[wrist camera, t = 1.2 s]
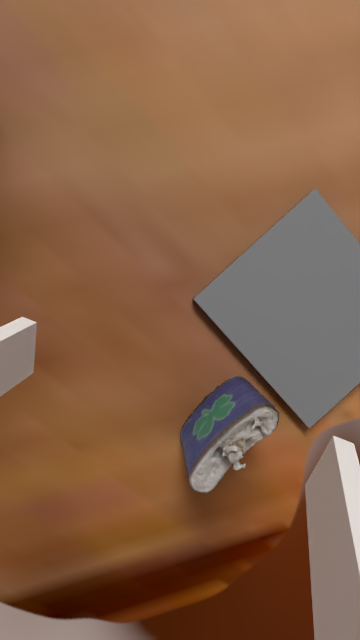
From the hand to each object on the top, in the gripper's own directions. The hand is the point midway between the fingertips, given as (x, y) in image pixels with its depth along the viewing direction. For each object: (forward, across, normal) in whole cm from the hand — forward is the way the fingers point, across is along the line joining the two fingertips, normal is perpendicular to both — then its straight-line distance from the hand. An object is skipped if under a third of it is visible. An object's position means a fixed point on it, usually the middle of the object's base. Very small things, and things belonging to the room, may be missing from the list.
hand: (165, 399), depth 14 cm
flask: (+18, +2, -13) cm, 22 cm away
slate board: (+24, +8, -2) cm, 25 cm away
